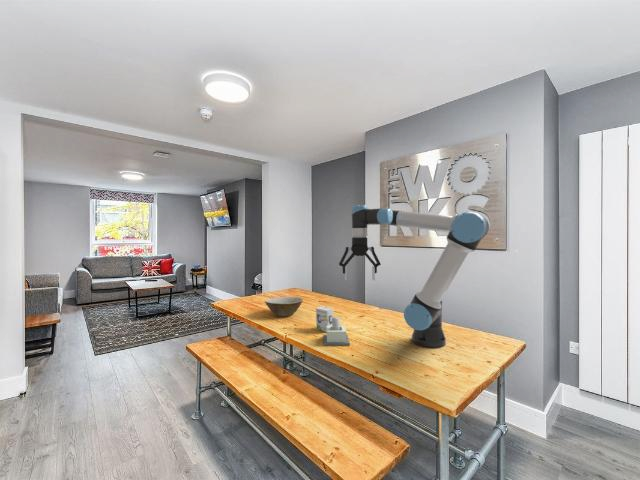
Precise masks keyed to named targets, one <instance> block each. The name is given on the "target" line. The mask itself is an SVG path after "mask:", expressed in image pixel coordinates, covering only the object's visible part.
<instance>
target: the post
mask: <svg viewBox="0 0 640 480" xmlns="http://www.w3.org/2000/svg"><path fill="white" fill-rule="evenodd" d="M340 319H341V318H340V317H338V316H335V317H334V316H333V318H332V330H340V326H341V325H340V324H341V323H340ZM322 335H323V336H322V337H323V347H330V346H331V347H334V346H335V347H336V346H337V347H340V346H343V347H345V346H351V344H350V340H349V336H348V334H347V333H346V342H327V334H322Z"/></svg>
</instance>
